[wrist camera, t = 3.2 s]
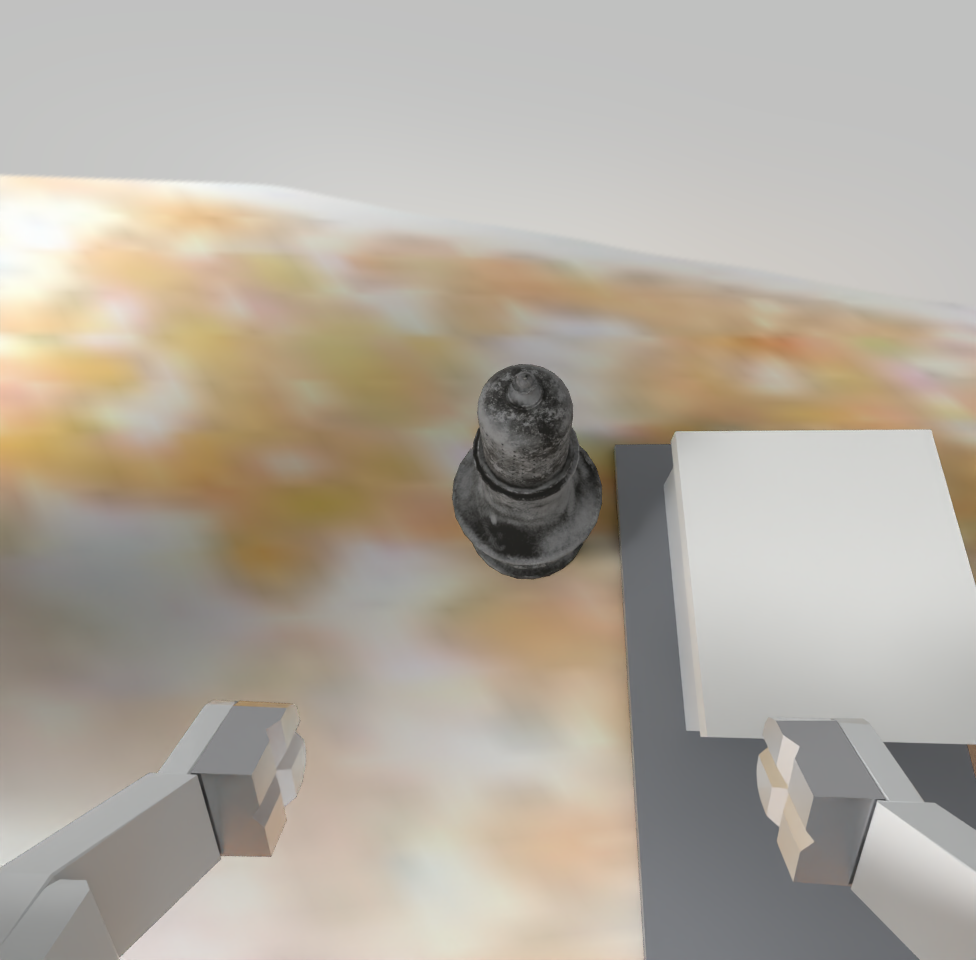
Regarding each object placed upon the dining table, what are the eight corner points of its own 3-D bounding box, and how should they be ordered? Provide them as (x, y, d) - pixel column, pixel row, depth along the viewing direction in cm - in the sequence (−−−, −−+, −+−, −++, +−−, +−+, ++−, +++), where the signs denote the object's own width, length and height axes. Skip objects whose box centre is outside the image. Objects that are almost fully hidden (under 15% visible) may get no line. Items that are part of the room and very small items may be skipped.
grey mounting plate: (683, 1622, 15) (754, 2036, 10) (613, 449, 28) (631, 389, 23) (1193, 1688, 15) (1528, 2171, 10) (883, 447, 27) (961, 385, 22)
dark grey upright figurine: (564, 444, 28) (584, 260, 17) (615, 558, 26) (676, 431, 15) (445, 485, 28) (388, 323, 17) (486, 605, 26) (452, 509, 15)
